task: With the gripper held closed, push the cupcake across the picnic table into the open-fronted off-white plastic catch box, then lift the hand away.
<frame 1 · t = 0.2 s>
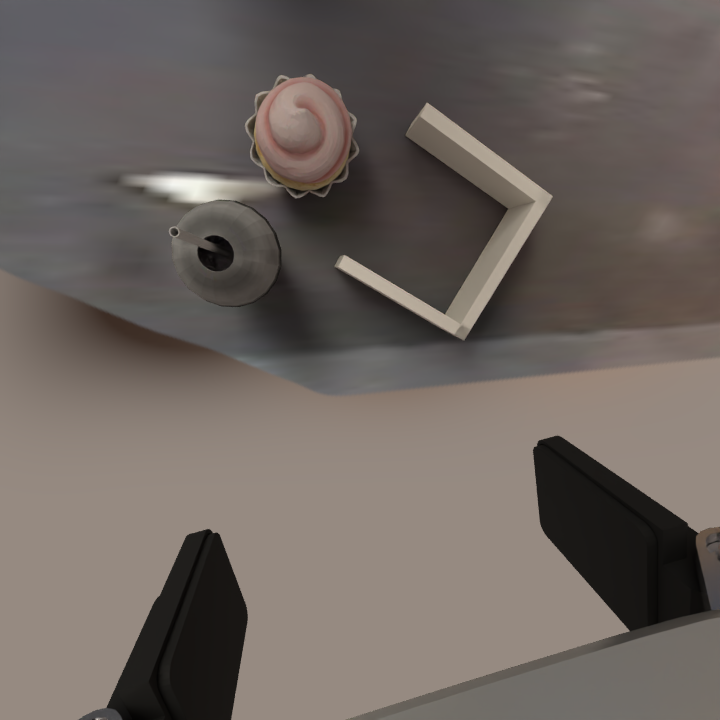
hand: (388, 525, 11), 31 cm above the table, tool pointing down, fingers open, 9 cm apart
beverage cup: (252, 257, 38), on the table
cupcake: (304, 154, 36), on the table
catch box: (425, 232, 39), on the table
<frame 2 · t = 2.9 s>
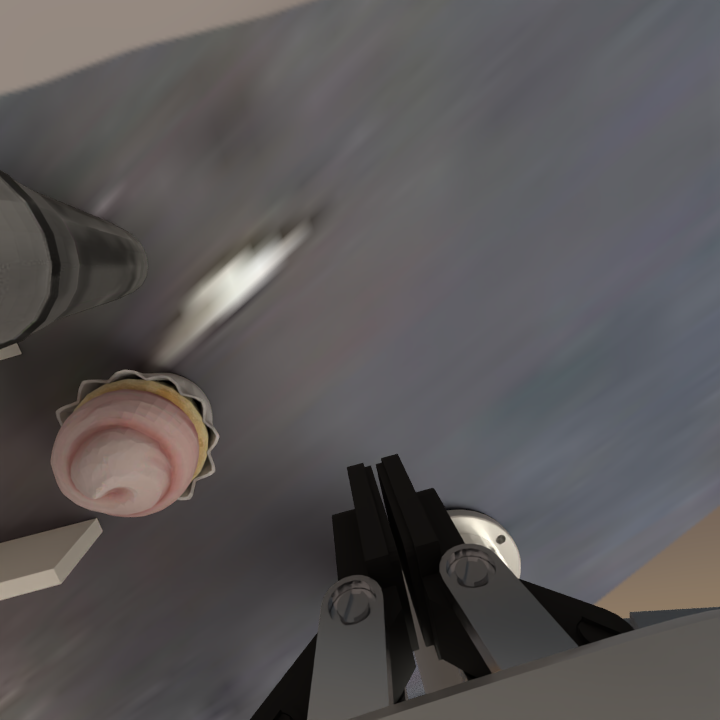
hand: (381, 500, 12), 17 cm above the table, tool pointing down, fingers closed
beverage cup: (112, 261, 25), on the table
cupcake: (169, 413, 28), on the table
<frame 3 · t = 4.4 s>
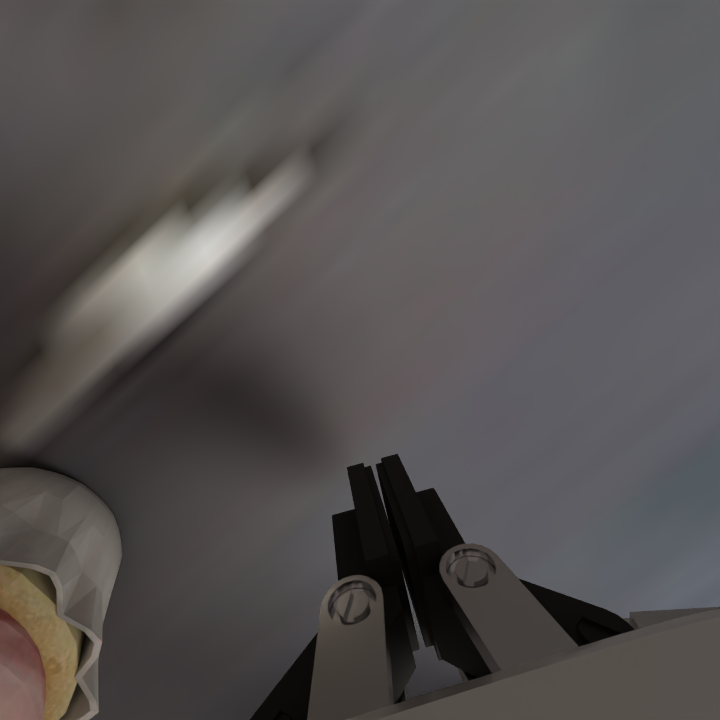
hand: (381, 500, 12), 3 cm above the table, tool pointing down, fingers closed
cupcake: (39, 537, 14), on the table
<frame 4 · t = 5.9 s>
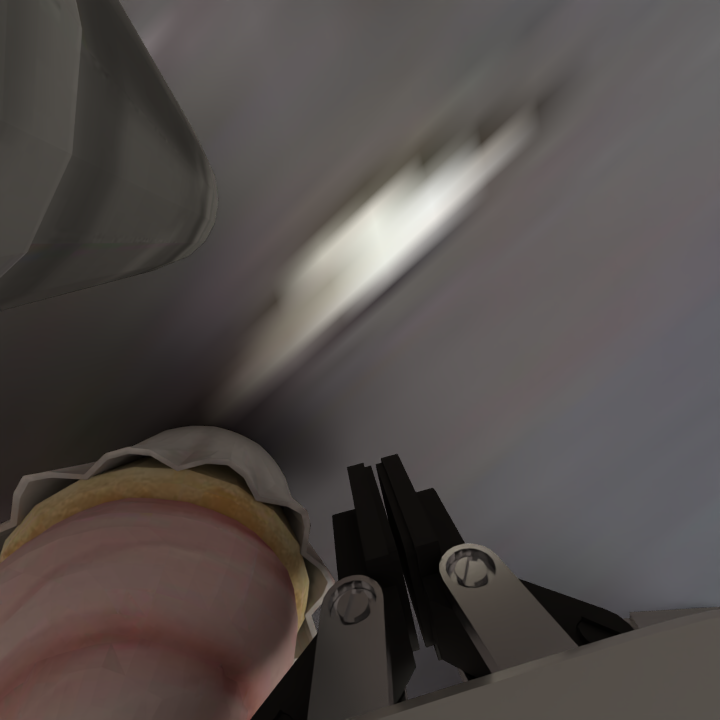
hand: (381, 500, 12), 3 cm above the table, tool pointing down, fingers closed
beverage cup: (146, 192, 12), on the table
cupcake: (207, 497, 15), on the table, touching gripper
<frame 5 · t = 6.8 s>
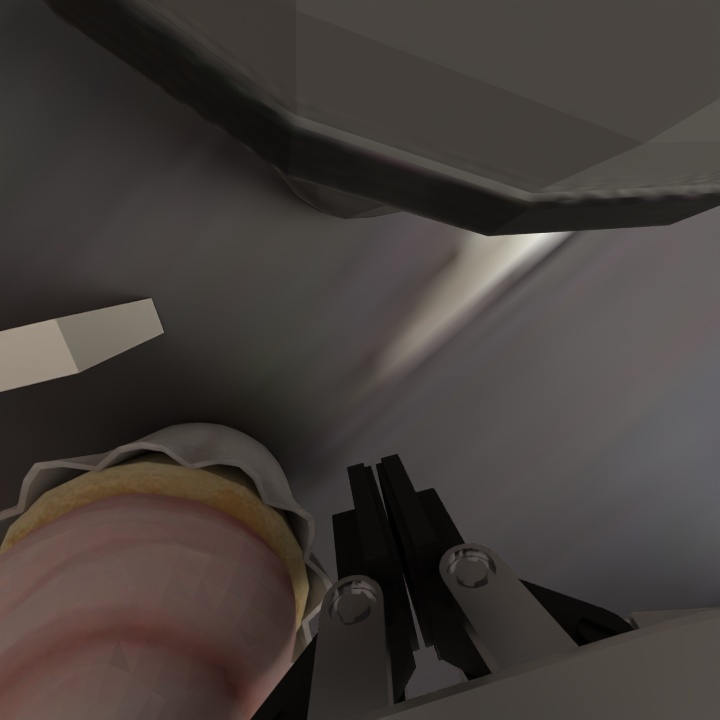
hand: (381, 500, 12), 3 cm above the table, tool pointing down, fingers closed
beverage cup: (346, 146, 13), on the table
cupcake: (207, 494, 15), on the table, touching gripper
catch box: (52, 539, 14), on the table
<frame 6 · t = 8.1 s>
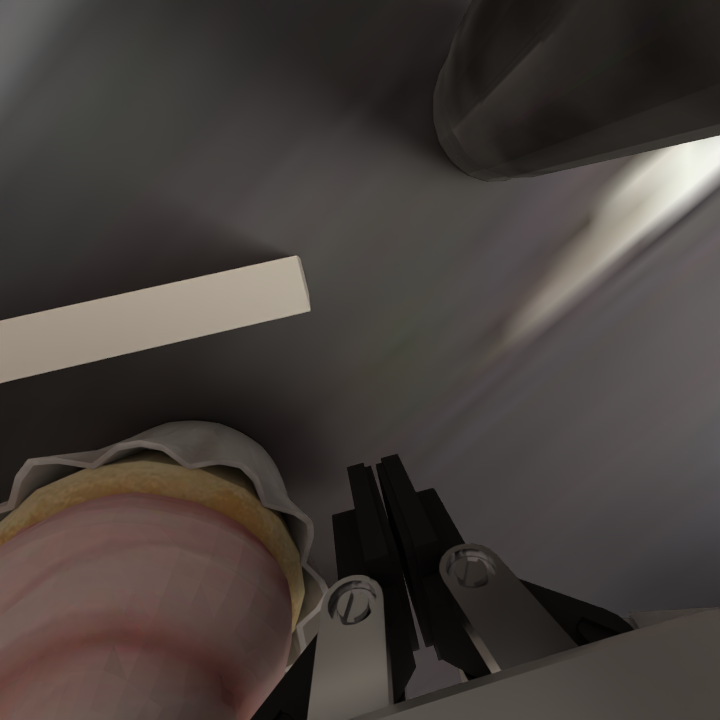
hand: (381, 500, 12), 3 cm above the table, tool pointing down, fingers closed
beverage cup: (495, 109, 13), on the table
cupcake: (201, 493, 15), on the table, touching gripper
catch box: (182, 501, 14), on the table
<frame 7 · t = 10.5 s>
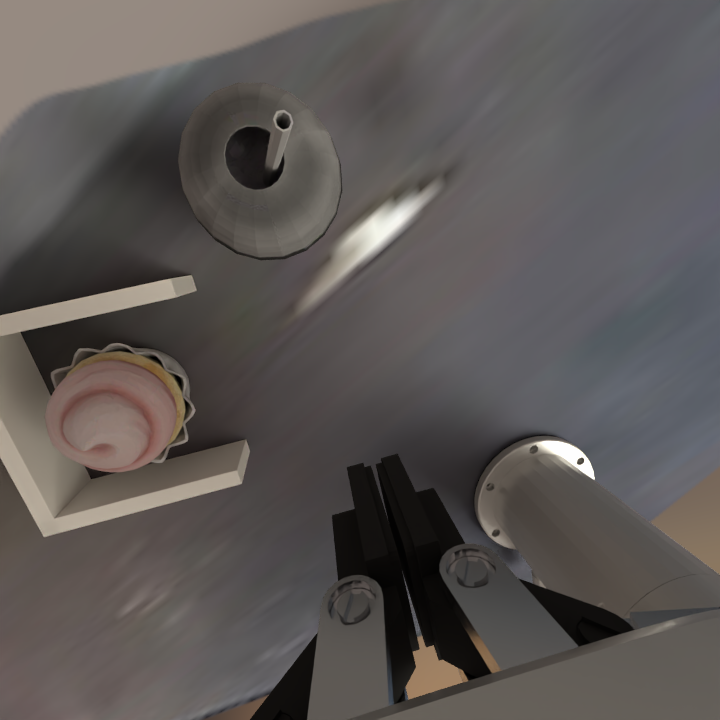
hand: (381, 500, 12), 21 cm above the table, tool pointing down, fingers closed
beverage cup: (277, 209, 29), on the table
cupcake: (150, 386, 31), on the table
catch box: (141, 388, 30), on the table
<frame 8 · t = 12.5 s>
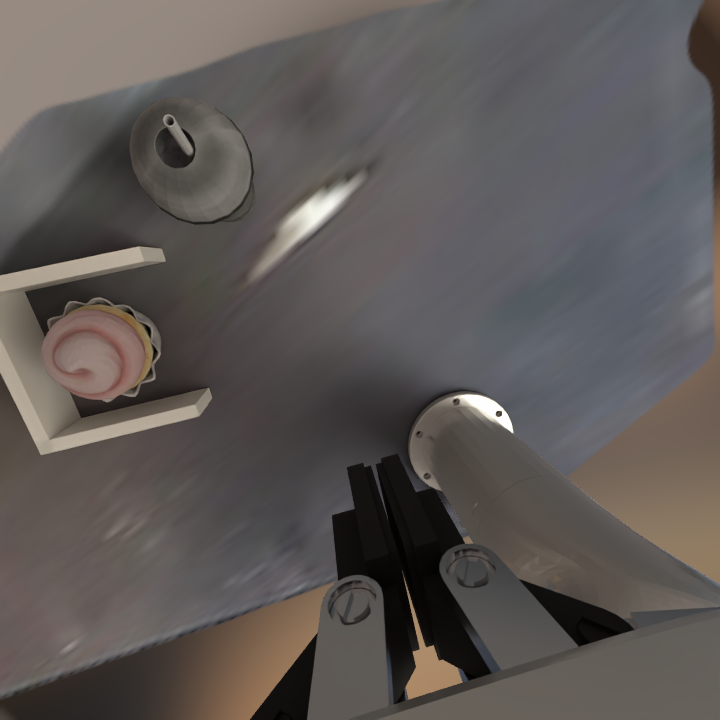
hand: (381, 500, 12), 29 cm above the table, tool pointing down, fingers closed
beverage cup: (230, 196, 36), on the table
cupcake: (129, 340, 38), on the table
catch box: (122, 342, 37), on the table
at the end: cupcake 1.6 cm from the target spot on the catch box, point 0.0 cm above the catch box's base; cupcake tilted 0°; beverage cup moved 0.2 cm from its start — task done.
